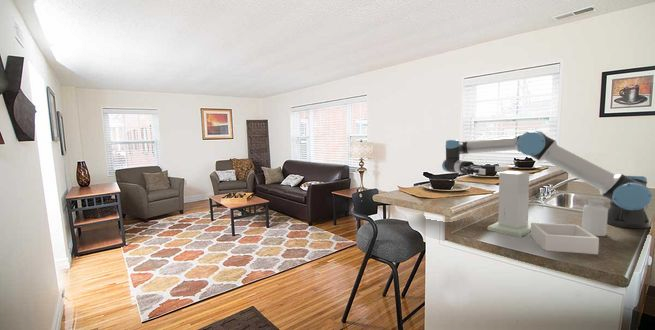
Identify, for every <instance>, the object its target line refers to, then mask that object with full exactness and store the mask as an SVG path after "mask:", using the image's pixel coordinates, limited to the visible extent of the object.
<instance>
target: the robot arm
mask: <svg viewBox="0 0 655 330" xmlns="http://www.w3.org/2000/svg"><path fill="white" fill-rule="evenodd" d="M507 151H510V152H511V151H517V152H519V153H522V154H523V155H524V156H525V155H526V156H530V157H532V158H533V159H535V160H537V161H539V162H541V161H545V162H548V163H549V164H552V165H553V166H555V167H556V168H559V169H560V170H562V171H564V172H566V173H568V174H570V175H571V176H573V177H575V178H577V179H579V180H581V181H582V182H583V183H584V182H585V183H586V184H588V185H590V186H592V187H593V188H595V189H598V190H599V194H600V195H601V196H603V197H604V198H606V199H607V200H609V205H608V206H609V207H607V209H608V218H607V225H612V226H616V227H619V228H628V229H640V230H641V229H642V230H643V229H648V228H650V220H649V217H648V214H647V212H646V207H648V206H649V205H650V204H651V202H652V199H653V194H652V191H651V190H650V188H649V187H648V186H647V184H648V179H647V177H646V176H640V175H624V174H623V173H613V172H610V171H609V170H606V169H605V168H603V167H601V166H599V165H597V164H594V163H593V162H591V161H589V160H587V159H585V158H583V157H580V156H579V155H577V154H575V153H574V152H571V151H569V150H567V149H565V148H564V147H561V146H559V145H558V144H557V141H556V140H554V139H553V138H551V137H549V136H547V135H546V134H545V133H544V132H542V131H538V130H529V131H525V132H524V133H520V134H517V135H515V136H507V137H499V138H488V139H478V140H477V139H475V140H467V141H460V140H459V139H447V140H446V141H445V159H444V160H443V161H442V163H441V167H442V170H443V171H445V172H448V173H455V174H459V175H469V176H470V175H471V176H472V175H473V176H474V174H475V175H476V174H477V175H484V176H485V175H486V171H489V172H498V173H500V172H506V171H508V167H507V166H502V165H501V166H500V165H498V164H496V165H482V164H475V163H474V162H473V161H471V160H463V159H462V160H460V158H461V157H460V155H466V154H478V153H479V154H480V153H482V154H483V153H494V152H507Z"/></svg>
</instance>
